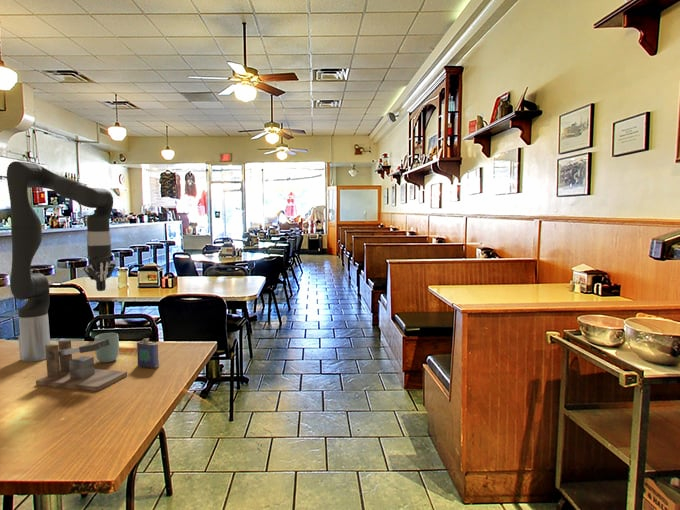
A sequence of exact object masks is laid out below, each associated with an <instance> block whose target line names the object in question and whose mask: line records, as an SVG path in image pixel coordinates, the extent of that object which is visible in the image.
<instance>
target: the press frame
mask: <svg viewBox="0 0 680 510" xmlns="http://www.w3.org/2000/svg"><path fill="white" fill-rule="evenodd" d="M57 343H58V344H53V343H52V344H51V343H50V344H47V345H45V350H46V359H45V360H46V362H45V363H46V372H47V375H46V376H43V377H41V378H39V379H37V380H35V384H36V386H41V385H42V387H50V386H52V387H53V388H62V389H70V390H72V389H73V390H79V391H89V390H91V392H100V391H101V389H102V390H103V389H106V388H107V387H109V386H111V385H113V384H114V383H116V382H119V381H120V380H122V379H124V378H125V377H127V376H128V371H123V370H111V369H110V370H109V369H99V368H95V359H94V356H86V355H85V356H84V355H81V356H77V357H75V358H73V354H67V355H61V356H59V350H60V349H66V348H71V347H72V341H71V340H70V339H69V340H68V339H67V340H66V339H59V340H58V341H57ZM52 387H51V388H52ZM99 390H100V391H99Z"/></svg>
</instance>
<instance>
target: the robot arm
mask: <svg viewBox="0 0 680 510" xmlns="http://www.w3.org/2000/svg"><path fill="white" fill-rule="evenodd" d="M6 182H7V188H8V195H9V201H10V217H11V220H10V222H11V224H10V226H11V228H10V231H11V233H10V234H11V247H12V248H11V254H12V255H11V268H10V269H11V270H10V279H9V280H10V282H9V283H10V284H9V285H10V286H9V287H10V293H11V295H12V296H13V297H14V298H15V299H17V300H20V301H21V300H27V301H26V303H25V304H24V305H22V306H21V307H20V308H18V311H17V315H18V324H19V325H18V326H19V335H18V337H17V338H18V349H19V351H18V352H19V360H21V361H22V362H25V363H30V362H31V363H32V362H39V361H42V360H46V350H45V345H47V344H51V335H50V324H49V311H48V310H49V307H50V303H51V302H50V283H49V280H48V278H47V276H46V275H45V274H43V273H41V272H33V273H32V271H31V268H32V262H33V259H34V257H35V255H36V253H37V251H38V250H39V247H40V246H41V243H42V240H43V231H42V222H41V219H40V217H39V216H38V214H37V212H36V210H35V209H34V208H33V206H32V204H31V202H30V200H29V194H28V193H29V192H28V188H31V189H35V188H39V189H40V188H41V189H47V190H48V189H49V190H52V191H54V193H56V194H57V195H58V196H60V197H63V198H65V199H69V200H71V201H75V202H76V203H77V204H79V205H81V206H83V207H87V208H91V209H95V210H94V213H93V214H90V215H88V216H87V218H86V229H87V230H86V231H87V234H86V246H87V247H86V248H87V252H86V253H87V257H88V258H89V260H88V264H87V266H84V267H83V269H82V270H83V272H85V274H86V275H87V277H89V279H90V280H91V281H95V284H96V291H97V292H103V291H106V286H107V285H106V280H107V279H109V278H111V276H112V274H113V272H114V270H115V268H116V263H113V262H111V258H110V257H111V256H112V237H111V233H110V218H111V215H112V211H113V206H114V197H113V194H112V193H111V191H110V190H108V189H106V188H97V187H89V186H87V184H85V183H83V182H81V181H77V180H74V179H71V178H67V177H65V176H61V175H59V174H57V173H54V171H53V172H52V171H50V170H49V169H47V168H45V167H44V166H41V164H37V163H34V162H25V161H14V160H13V161H12V162H10V163H9V165H8V166H7V168H6Z"/></svg>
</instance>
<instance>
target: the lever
mask: <svg viewBox="0 0 680 510" xmlns="http://www.w3.org/2000/svg"><path fill="white" fill-rule="evenodd" d="M108 345H110V343H109V339H105V340H100V341H95V340H94V341H92V342H89V343H86V344H83V345H77V346H71V348H66V349H60V350H59V356H61V355H67V354H72V355H73V354H78V353H80V354H84V353H90V352H94V351H95V350H98V349H100V348H103V347H105V346H108ZM95 352H96V351H95Z"/></svg>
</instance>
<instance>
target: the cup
mask: <svg viewBox="0 0 680 510" xmlns="http://www.w3.org/2000/svg"><path fill="white" fill-rule="evenodd" d="M105 339H109V343H110V345H108V346H105V347H103V348H100V349H98V350H95V356H96V360H97V361H98V362H100V363H105V364H106V363H112V362H114V361H115V360H117V359H118V357H119V352H120V341H119V339H120V338H119V334H118V332H117V333H116V332H106V333H105V332H104V333H100V334H97V335H95V336H94V341H100V340H105Z"/></svg>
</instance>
